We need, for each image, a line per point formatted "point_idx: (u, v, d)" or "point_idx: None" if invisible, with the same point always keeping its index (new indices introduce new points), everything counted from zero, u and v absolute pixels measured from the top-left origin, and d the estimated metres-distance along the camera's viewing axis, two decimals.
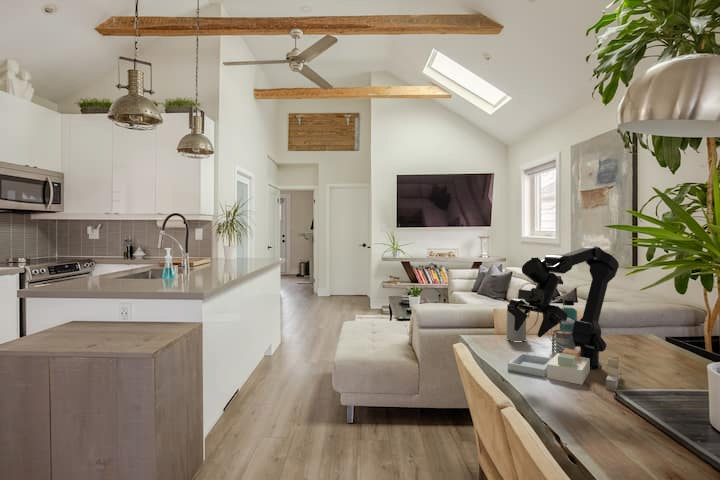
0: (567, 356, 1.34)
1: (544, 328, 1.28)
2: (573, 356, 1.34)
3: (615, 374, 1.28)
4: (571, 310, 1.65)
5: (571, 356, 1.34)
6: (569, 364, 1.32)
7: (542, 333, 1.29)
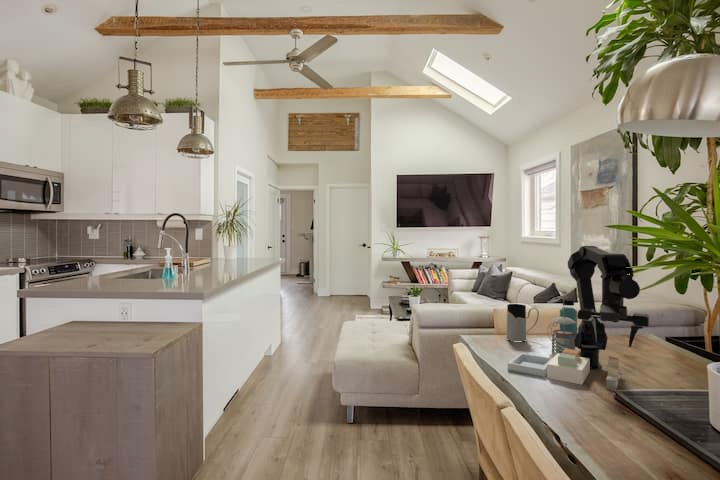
0: (567, 356, 1.34)
1: (633, 338, 1.26)
2: (573, 356, 1.34)
3: (615, 374, 1.28)
4: (571, 310, 1.65)
5: (571, 356, 1.34)
6: (569, 364, 1.32)
7: None
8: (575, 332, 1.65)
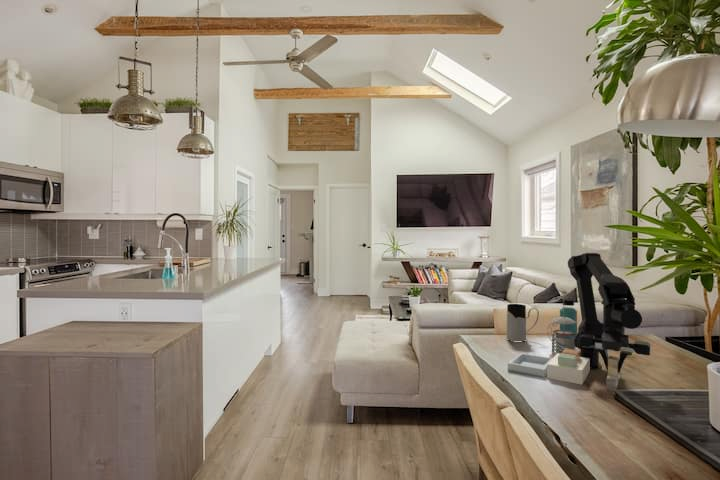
0: (567, 356, 1.34)
1: (622, 363, 1.29)
2: (573, 356, 1.34)
3: (615, 374, 1.28)
4: (571, 310, 1.65)
5: (571, 356, 1.34)
6: (569, 364, 1.32)
7: None
8: (575, 332, 1.65)
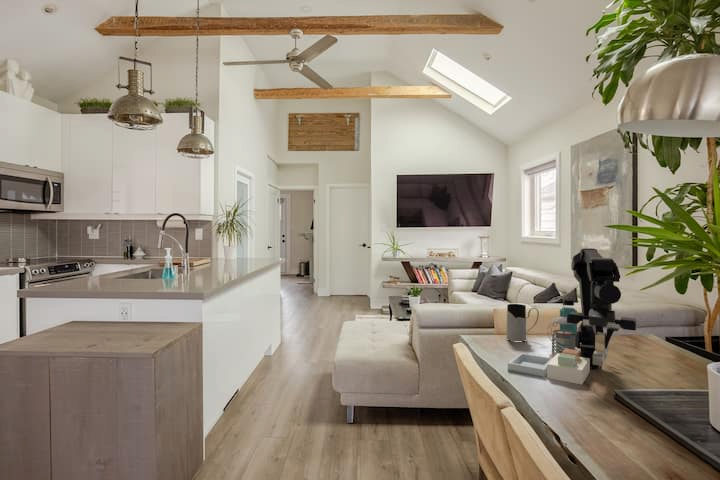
0: (567, 356, 1.34)
1: (609, 340, 1.31)
2: (573, 356, 1.34)
3: (602, 349, 1.30)
4: (571, 310, 1.65)
5: (571, 356, 1.34)
6: (569, 364, 1.32)
7: None
8: (575, 332, 1.65)
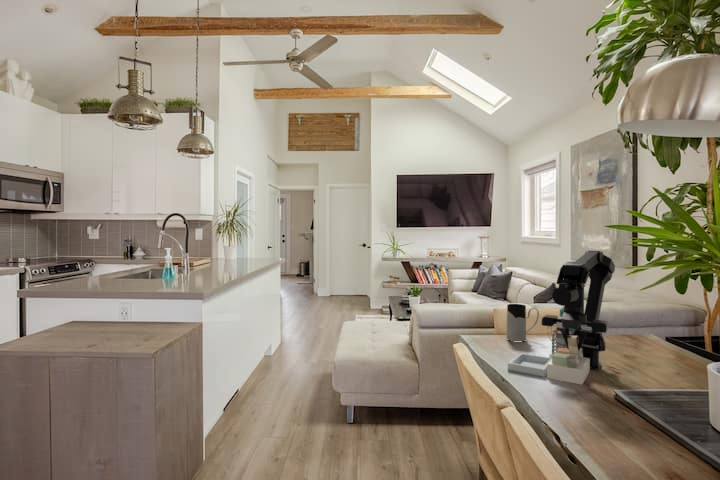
0: (561, 355, 1.35)
1: (582, 342, 1.35)
2: (567, 355, 1.35)
3: (575, 352, 1.35)
4: None
5: (565, 355, 1.35)
6: (563, 363, 1.33)
7: (581, 346, 1.36)
8: None
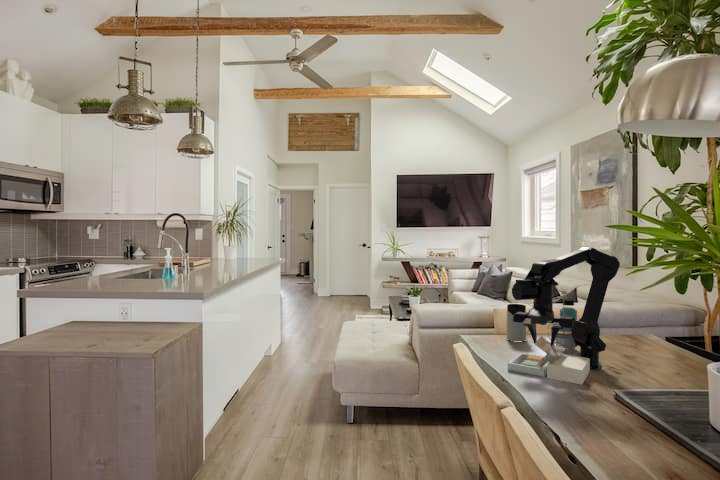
0: None
1: (554, 338, 1.40)
2: None
3: (549, 348, 1.39)
4: (571, 310, 1.65)
5: None
6: None
7: (553, 342, 1.41)
8: None
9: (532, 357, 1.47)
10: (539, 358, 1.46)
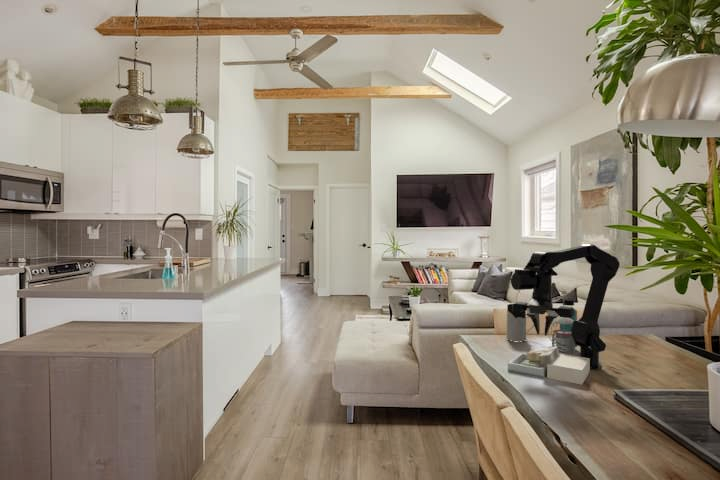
0: None
1: (548, 327, 1.41)
2: None
3: (541, 354, 1.41)
4: None
5: None
6: None
7: (547, 331, 1.42)
8: None
9: None
10: None
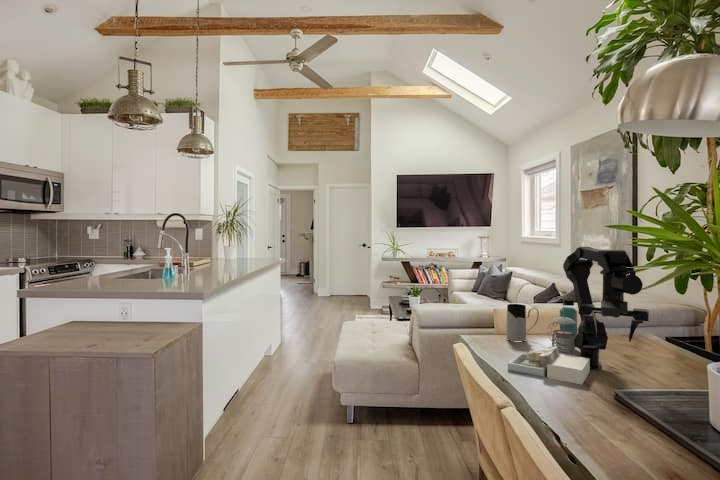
0: None
1: (633, 332, 1.29)
2: None
3: (541, 354, 1.41)
4: (571, 310, 1.65)
5: None
6: None
7: None
8: (575, 332, 1.65)
9: None
10: None
